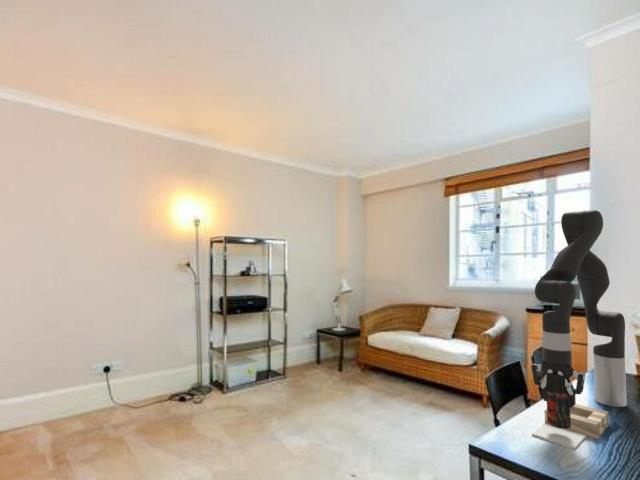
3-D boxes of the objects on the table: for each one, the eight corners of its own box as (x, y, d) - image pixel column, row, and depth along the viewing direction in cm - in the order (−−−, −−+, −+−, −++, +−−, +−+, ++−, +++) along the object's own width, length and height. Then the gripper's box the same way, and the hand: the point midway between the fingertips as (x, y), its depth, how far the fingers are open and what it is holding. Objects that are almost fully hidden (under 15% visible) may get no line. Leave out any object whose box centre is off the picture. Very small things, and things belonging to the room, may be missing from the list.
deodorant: (574, 429, 109) (572, 376, 109) (551, 427, 110) (550, 375, 111) (565, 420, 114) (564, 370, 115) (544, 419, 116) (542, 369, 116)
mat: (545, 424, 120) (544, 422, 120) (586, 437, 112) (586, 435, 112) (532, 435, 112) (532, 433, 112) (575, 449, 104) (575, 447, 104)
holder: (559, 411, 130) (558, 399, 131) (609, 424, 120) (608, 411, 120) (544, 422, 121) (544, 410, 121) (597, 438, 111) (597, 424, 111)
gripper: (588, 349, 110) (590, 407, 110) (535, 341, 121) (536, 394, 120) (581, 353, 105) (583, 414, 105) (526, 344, 116) (527, 399, 115)
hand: (558, 403), depth 112 cm, fingers closed on deodorant, 6 cm apart
